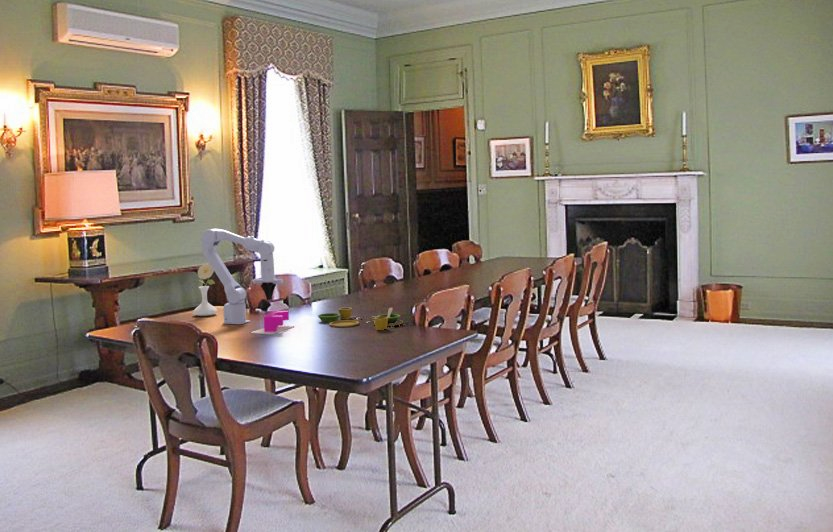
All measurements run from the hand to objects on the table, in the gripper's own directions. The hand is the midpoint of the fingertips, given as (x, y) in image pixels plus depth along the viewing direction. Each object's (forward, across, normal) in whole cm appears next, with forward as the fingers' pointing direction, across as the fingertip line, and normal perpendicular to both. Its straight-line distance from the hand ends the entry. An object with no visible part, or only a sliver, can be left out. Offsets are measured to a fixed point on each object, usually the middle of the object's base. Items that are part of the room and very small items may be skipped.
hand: (269, 299), depth 361 cm
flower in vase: (+10, -42, +9) cm, 44 cm away
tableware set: (+12, +41, +9) cm, 44 cm away
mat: (+10, +11, -15) cm, 21 cm away
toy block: (+7, +8, -15) cm, 18 cm away
